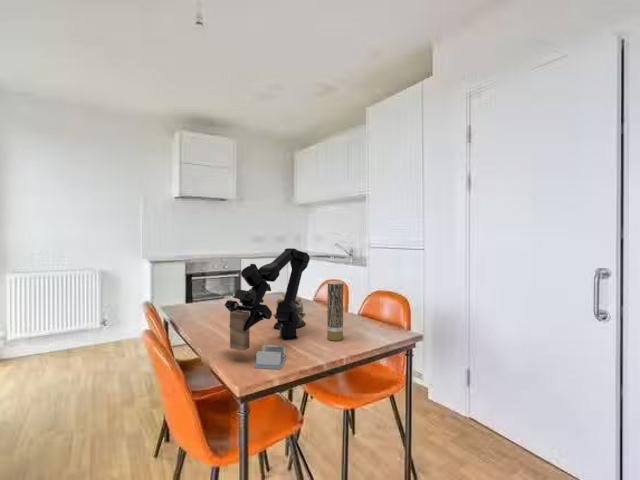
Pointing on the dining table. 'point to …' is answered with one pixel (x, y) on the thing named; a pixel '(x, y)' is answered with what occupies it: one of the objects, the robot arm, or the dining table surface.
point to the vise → (271, 357)
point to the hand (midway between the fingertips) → (237, 329)
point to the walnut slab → (239, 330)
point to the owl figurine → (299, 312)
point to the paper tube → (335, 311)
